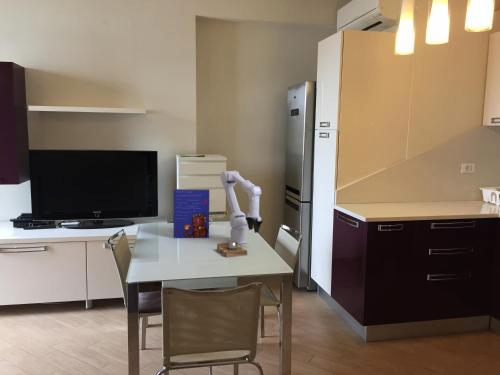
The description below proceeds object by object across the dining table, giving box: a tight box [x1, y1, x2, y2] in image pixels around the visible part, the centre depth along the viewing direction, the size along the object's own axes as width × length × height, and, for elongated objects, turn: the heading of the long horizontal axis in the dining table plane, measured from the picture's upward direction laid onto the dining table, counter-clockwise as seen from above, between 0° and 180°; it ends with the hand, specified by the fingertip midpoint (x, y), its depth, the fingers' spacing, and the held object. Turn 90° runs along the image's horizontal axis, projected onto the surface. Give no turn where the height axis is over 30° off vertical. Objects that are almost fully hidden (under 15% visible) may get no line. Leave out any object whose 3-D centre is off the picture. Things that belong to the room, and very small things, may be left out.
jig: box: [216, 242, 248, 258], centre depth 241 cm, size 14×12×4 cm
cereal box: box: [173, 188, 210, 239], centre depth 273 cm, size 22×6×30 cm, turn 96°
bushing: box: [228, 241, 236, 250], centre depth 241 cm, size 4×4×6 cm
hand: (253, 231), depth 252 cm, fingers open, 7 cm apart
